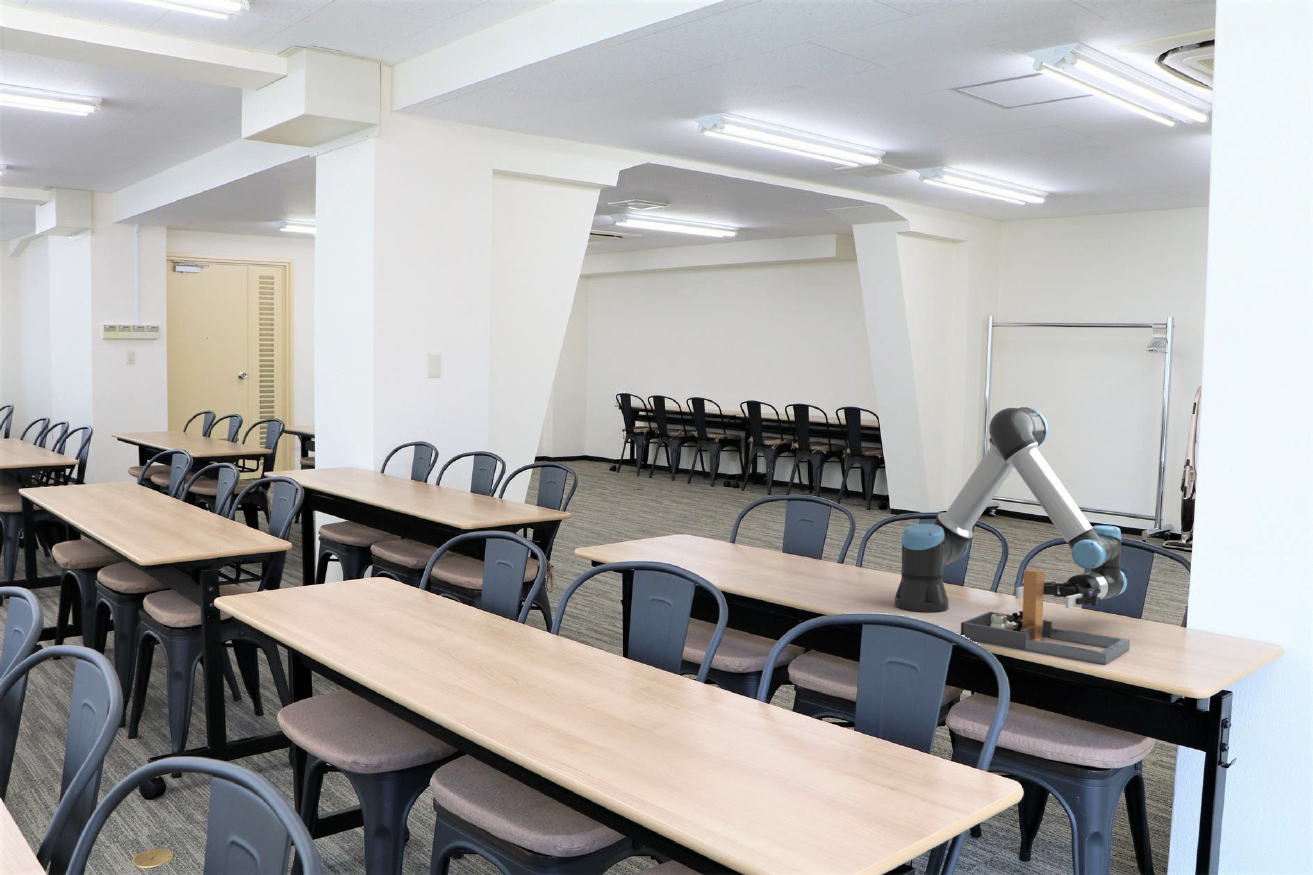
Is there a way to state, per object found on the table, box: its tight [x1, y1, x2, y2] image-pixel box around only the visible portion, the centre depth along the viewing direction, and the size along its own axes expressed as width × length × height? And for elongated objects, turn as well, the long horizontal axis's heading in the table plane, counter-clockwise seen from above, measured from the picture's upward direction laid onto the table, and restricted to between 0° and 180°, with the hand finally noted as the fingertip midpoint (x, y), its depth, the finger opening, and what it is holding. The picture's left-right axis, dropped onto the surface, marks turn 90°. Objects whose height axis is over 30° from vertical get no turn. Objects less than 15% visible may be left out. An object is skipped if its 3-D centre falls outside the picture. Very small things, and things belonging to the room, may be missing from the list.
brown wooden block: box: [1020, 568, 1045, 642], centre depth 246 cm, size 13×4×18 cm, turn 139°
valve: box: [990, 610, 1023, 632], centre depth 250 cm, size 7×7×12 cm
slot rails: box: [1024, 626, 1131, 666], centre depth 239 cm, size 18×18×2 cm
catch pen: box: [960, 611, 1053, 651], centre depth 251 cm, size 18×16×4 cm
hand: (1041, 597), depth 249 cm, fingers open, 13 cm apart
